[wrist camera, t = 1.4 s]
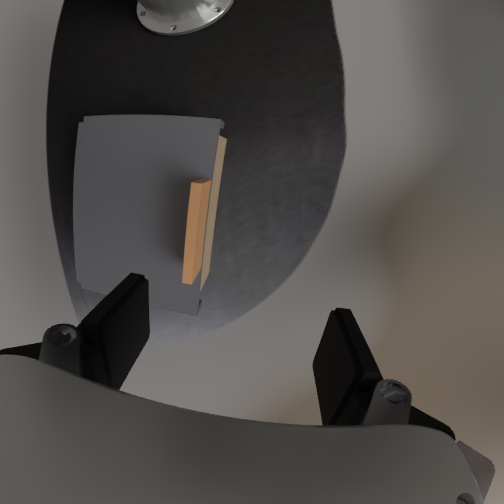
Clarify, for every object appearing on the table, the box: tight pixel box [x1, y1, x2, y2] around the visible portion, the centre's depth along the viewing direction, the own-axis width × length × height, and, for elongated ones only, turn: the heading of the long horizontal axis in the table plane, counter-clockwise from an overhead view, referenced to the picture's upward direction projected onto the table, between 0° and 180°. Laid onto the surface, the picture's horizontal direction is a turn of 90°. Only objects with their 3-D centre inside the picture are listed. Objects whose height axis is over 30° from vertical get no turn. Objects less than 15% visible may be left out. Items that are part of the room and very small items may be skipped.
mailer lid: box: [73, 115, 224, 316], centre depth 23 cm, size 18×14×6 cm
